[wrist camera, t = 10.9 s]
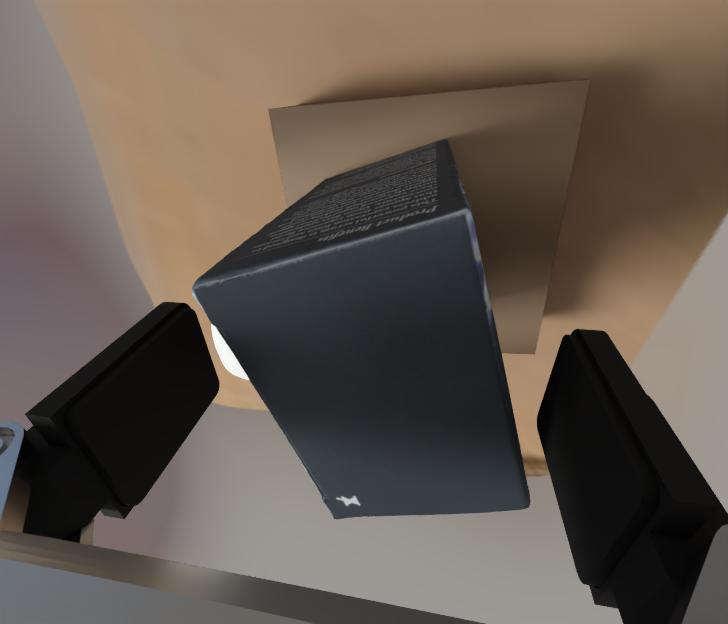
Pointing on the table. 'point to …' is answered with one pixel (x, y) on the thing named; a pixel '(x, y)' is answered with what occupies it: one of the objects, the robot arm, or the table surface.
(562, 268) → the table surface
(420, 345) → the box
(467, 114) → the walnut block
